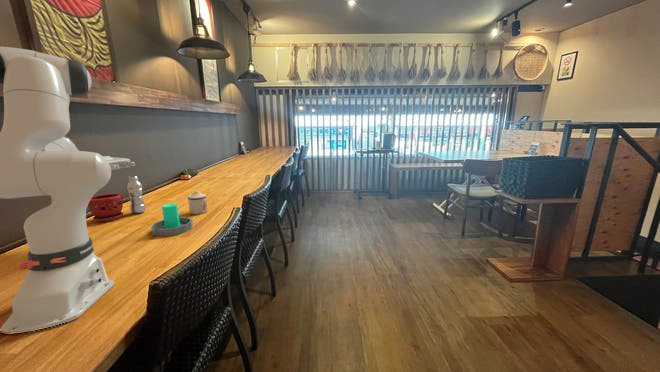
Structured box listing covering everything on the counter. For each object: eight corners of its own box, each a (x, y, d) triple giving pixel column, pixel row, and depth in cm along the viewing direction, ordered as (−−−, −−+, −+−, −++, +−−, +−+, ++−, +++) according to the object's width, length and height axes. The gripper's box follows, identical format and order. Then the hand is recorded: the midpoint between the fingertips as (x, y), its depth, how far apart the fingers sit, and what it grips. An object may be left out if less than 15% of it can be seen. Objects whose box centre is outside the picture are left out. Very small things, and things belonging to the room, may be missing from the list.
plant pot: (131, 215, 135) (128, 193, 132) (104, 224, 123) (100, 200, 120) (112, 213, 138) (108, 192, 136) (84, 222, 126) (79, 198, 123)
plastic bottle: (133, 211, 142) (127, 175, 137) (148, 210, 144) (142, 175, 139) (128, 215, 136) (122, 177, 131) (143, 214, 138) (137, 177, 133)
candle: (172, 230, 113) (169, 204, 111) (161, 229, 115) (157, 203, 112) (183, 225, 119) (180, 200, 117) (172, 224, 121) (169, 199, 118)
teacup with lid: (207, 213, 139) (205, 192, 137) (188, 215, 136) (186, 194, 133) (208, 207, 150) (206, 187, 147) (190, 209, 146) (187, 189, 144)
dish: (190, 233, 113) (189, 226, 112) (148, 238, 107) (147, 231, 107) (194, 221, 127) (193, 215, 126) (157, 225, 121) (156, 219, 121)
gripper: (64, 160, 95) (102, 160, 96) (109, 155, 115) (141, 155, 116) (68, 177, 97) (105, 177, 97) (112, 169, 117) (143, 169, 117)
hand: (125, 165), depth 106 cm, fingers open, 8 cm apart
